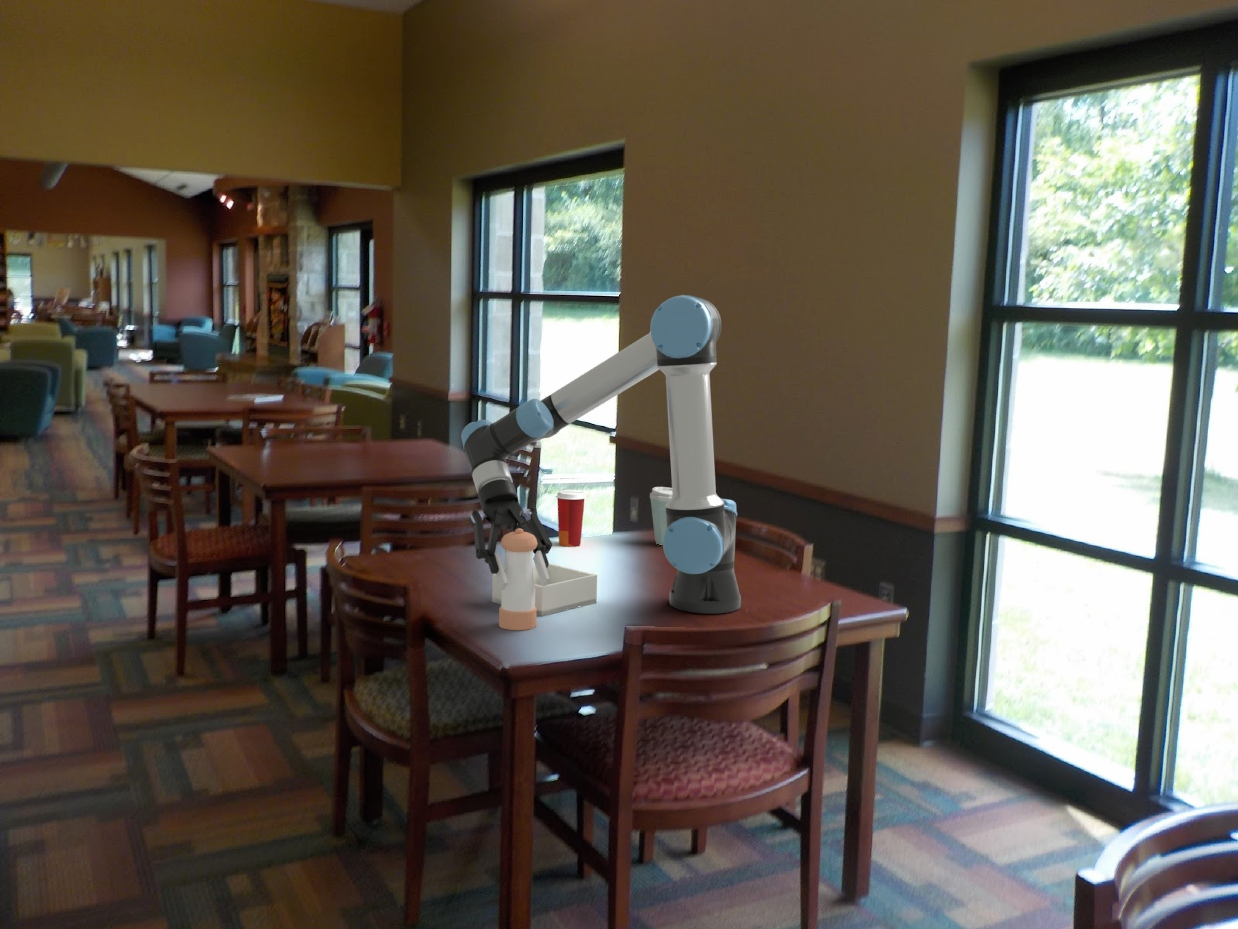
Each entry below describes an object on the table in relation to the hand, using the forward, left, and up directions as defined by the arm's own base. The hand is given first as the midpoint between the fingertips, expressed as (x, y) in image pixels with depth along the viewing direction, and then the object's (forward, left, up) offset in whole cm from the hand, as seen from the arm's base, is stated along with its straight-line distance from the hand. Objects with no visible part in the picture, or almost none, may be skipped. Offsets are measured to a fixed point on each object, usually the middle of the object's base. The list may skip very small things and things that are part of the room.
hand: (525, 584), depth 217 cm
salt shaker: (+3, -1, -9) cm, 10 cm away
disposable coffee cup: (+33, -83, -9) cm, 90 cm away
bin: (+12, -17, -9) cm, 23 cm away
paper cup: (+50, -63, -9) cm, 81 cm away
